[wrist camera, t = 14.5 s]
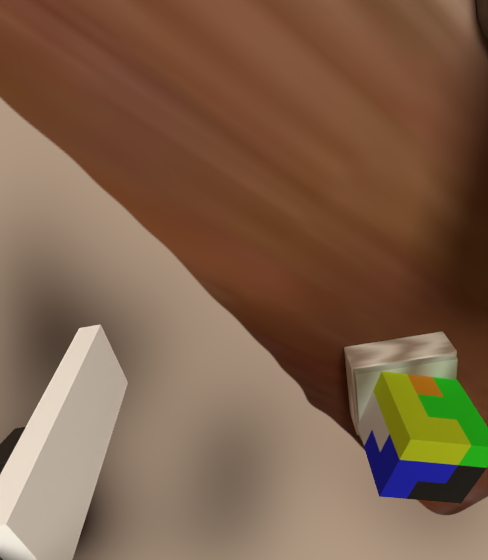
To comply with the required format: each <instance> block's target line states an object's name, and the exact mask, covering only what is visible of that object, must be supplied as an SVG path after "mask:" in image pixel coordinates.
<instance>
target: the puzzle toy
mask: <svg viewBox="0 0 488 560" xmlns="http://www.w3.org/2000/svg"><path fill="white" fill-rule="evenodd" d="M358 429H359V432H360V435H361V438H362V441H363V445H364V448H365V451H366V454H367V458H368V461H369V464H370V467H371V471H372V474H373V477H374V480H375V484H376V487H377V490H378V493H379V496H382V497H394V498H406V499H417V500H429V501H441V502H453V503H461V502H462V501H463V500H464V498H465V497H466V496H467V494H468V493H469V491H470V490H471V489H472V487H473V486H474V485H475V483H476V482H477V481H478V479H479V478H480V476H481V475H482V474H483V472H484V471H485V470H486V468H487V467H488V427H487V425H486V424H485V422H484V421H483V419H482V417H481V416H480V414H479V413H478V411H477V410H476V408H475V406H474V405H473V403H472V402H471V400H470V399H469V397H468V396H467V394H466V392H465V391H464V389H463V388H462V386H461V385H460V383H459V382H458V380H455V379H446V378H437V377H428V376H419V375H411V374H402V373H393V372H384V371H381V374H380V376H379V378H378V380H377V383H376V385H375V387H374V389H373V392H372V394H371V396H370V399H369V401H368V403H367V405H366V408H365V410H364V412H363V414H362V417H361V419H360V421H359V423H358Z"/></svg>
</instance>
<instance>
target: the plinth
mask: <svg viewBox="0 0 488 560" xmlns="http://www.w3.org/2000/svg"><path fill="white" fill-rule="evenodd" d="M344 352H345V363H346V374H347V384H348V395H349V405H350V414H351V417H352V421H353V424H354V427H355V431H356V434H357V435H360V432H359V429H358V423H359V421H360V419H361V417H362V414H363V412H364V410H365V408H366V405H367V403H368V401H369V399H370V396H371V394H372V392H373V389H374V387H375V385H376V383H377V380H378V378H379V376H380V374H381V371H384V372H393V373H402V374H411V375H419V376H428V377H437V378H446V379H455V380H456V374H457V363H458V359H457V357H456V355H457V351H456V350H455V348H454V347H453V345H452V344H451V342H450V341H449V340H448V338H447V337H446V335H445V334H444V332H443V331H442V332H436V333H430V334H423V335H417V336H411V337H405V338H398V339H392V340H386V341H380V342H373V343H367V344H361V345H354V346H348V347H344ZM360 439H362V438H361V435H360Z"/></svg>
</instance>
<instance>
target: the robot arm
mask: <svg viewBox="0 0 488 560" xmlns="http://www.w3.org/2000/svg"><path fill="white" fill-rule="evenodd" d="M476 1H477V13H478V18H479V22H480V26H481V29H482V32H483V34H484V36H485V38H486V40H487V42H488V0H476ZM127 384H128V382H127V380H126V378H125V375H124V373H123V371H122V369H121V367H120V365H119V363H118V361H117V358H116V356H115V354H114V352H113V350H112V348H111V346H110V343H109V341H108V339H107V337H106V335H105V333H104V331H103V328H102V327H101V325H95V326H90V327H85V328H79V330H78V332H77V333H76V335H75V337H74V339H73V341H72V343H71V345H70V347H69V348H68V350H67V352H66V354H65V356H64V358H63V360H62V361H61V363H60V365H59V367H58V369H57V371H56V372H55V374H54V376H53V378H52V380H51V382H50V383H49V385H48V387H47V389H46V391H45V393H44V395H43V397H42V398H41V400H40V402H39V404H38V406H37V407H36V409H35V411H34V413H33V415H32V417H31V419H30V421H29V422H28V424H27V426H26V427H22V428H17V429H14V430H13V431H12V432H11V434H9V436H8V437H7V438H6V439H5V440H4V441H3V442H2V443H1V444H0V560H72V559H73V556H74V552H75V549H76V546H77V543H78V540H79V536H80V533H81V530H82V527H83V524H84V521H85V517H86V514H87V511H88V508H89V505H90V502H91V499H92V495H93V492H94V489H95V486H96V483H97V480H98V476H99V473H100V470H101V467H102V464H103V460H104V457H105V454H106V451H107V448H108V444H109V441H110V438H111V435H112V432H113V429H114V426H115V422H116V419H117V416H118V413H119V410H120V407H121V403H122V400H123V397H124V394H125V390H126V388H127Z"/></svg>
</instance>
